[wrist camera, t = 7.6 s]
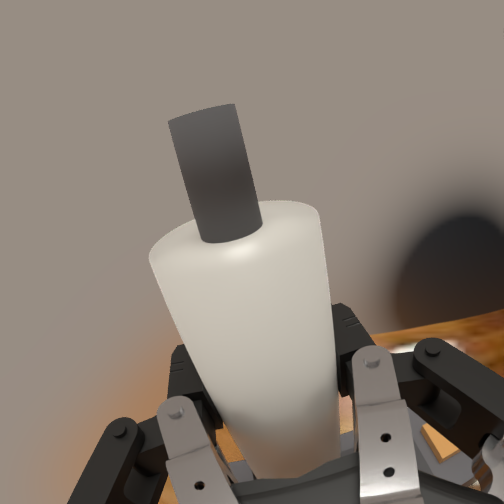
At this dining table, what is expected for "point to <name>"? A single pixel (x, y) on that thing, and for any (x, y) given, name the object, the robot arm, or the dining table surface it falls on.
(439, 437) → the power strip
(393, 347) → the dining table surface
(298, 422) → the white and grey cylinder
